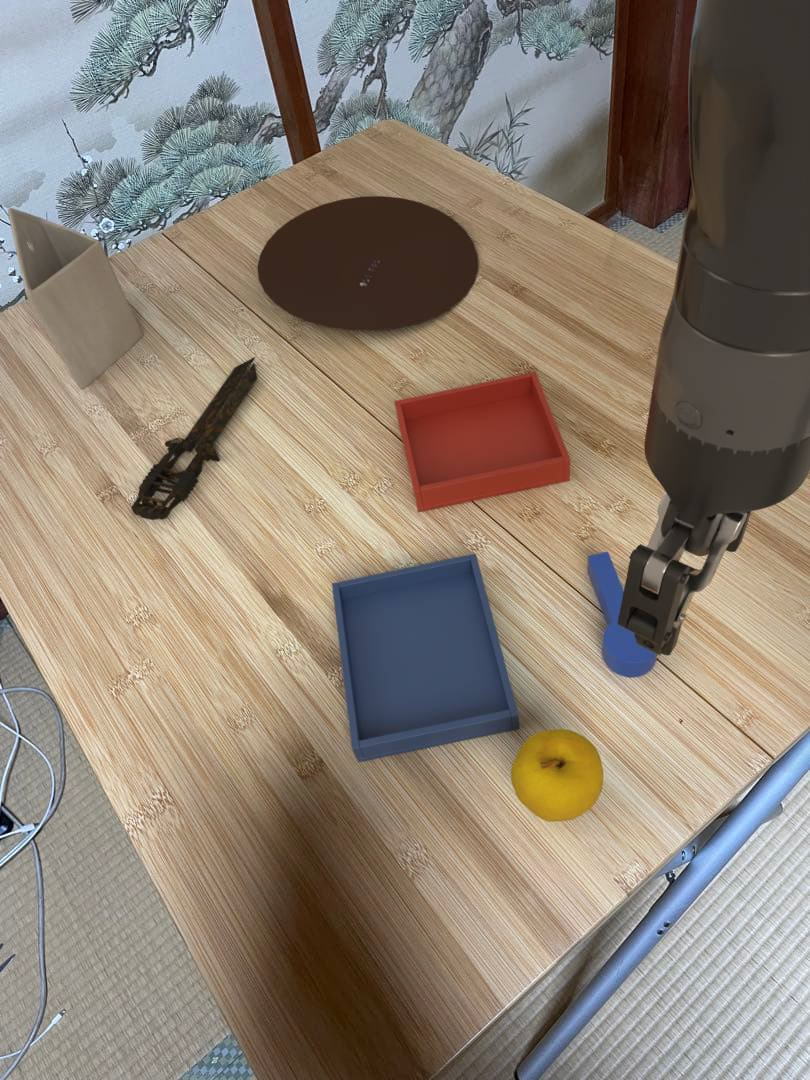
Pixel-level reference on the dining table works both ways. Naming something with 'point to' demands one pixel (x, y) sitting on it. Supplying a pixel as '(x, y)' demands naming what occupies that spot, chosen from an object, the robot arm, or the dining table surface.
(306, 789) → the dining table surface
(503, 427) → the red tray
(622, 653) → the spoon
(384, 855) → the dining table surface
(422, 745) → the blue tray
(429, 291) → the plate
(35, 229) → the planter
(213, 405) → the knife
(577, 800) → the apple
